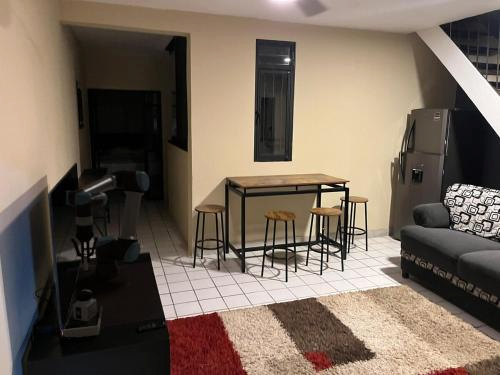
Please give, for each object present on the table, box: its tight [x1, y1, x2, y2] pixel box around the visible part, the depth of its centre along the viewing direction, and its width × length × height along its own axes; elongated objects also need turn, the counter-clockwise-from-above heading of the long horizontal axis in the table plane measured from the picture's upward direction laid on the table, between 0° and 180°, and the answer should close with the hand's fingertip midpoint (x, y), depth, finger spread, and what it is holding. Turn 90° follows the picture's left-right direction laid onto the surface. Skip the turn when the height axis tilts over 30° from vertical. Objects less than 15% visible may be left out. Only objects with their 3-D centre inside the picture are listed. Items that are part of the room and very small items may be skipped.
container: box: [72, 289, 98, 322], centre depth 189 cm, size 8×8×13 cm
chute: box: [62, 305, 103, 338], centre depth 184 cm, size 24×15×4 cm, turn 16°
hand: (86, 269), depth 198 cm, fingers closed
